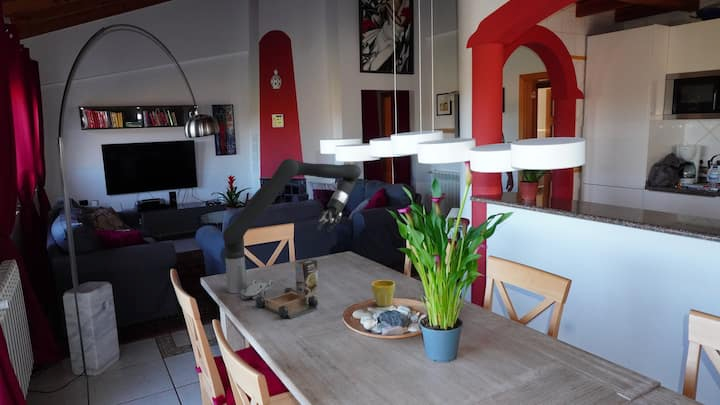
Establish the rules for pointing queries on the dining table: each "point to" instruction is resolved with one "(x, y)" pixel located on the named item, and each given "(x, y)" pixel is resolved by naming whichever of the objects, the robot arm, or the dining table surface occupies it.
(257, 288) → the car model
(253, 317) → the dining table surface
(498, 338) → the dining table surface
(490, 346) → the dining table surface
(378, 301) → the plant pot
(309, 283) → the coffee box
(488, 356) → the dining table surface
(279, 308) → the chassis
